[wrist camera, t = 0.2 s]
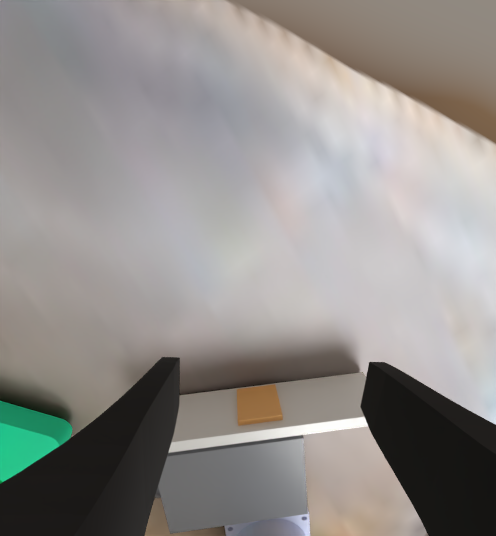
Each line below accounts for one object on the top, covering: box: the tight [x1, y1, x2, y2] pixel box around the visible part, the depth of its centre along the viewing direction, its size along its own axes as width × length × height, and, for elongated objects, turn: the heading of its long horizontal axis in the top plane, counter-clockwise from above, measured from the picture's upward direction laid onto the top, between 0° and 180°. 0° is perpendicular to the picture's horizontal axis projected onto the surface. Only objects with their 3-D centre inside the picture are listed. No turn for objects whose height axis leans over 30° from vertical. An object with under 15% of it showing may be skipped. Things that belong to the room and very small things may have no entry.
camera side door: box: [168, 372, 368, 453], centre depth 19 cm, size 1×16×4 cm, turn 96°
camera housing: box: [155, 435, 308, 534], centre depth 21 cm, size 7×11×4 cm, turn 96°
